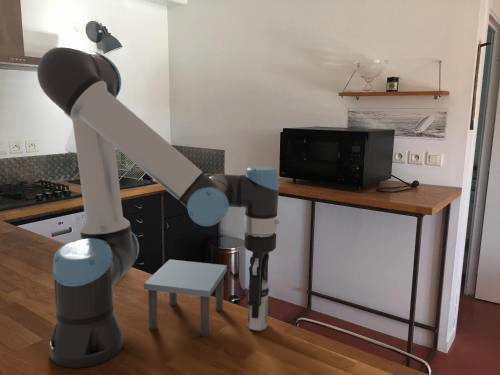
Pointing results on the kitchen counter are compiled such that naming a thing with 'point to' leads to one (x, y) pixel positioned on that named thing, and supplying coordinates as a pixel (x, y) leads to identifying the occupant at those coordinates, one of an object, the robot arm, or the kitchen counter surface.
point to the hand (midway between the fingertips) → (257, 322)
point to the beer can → (264, 306)
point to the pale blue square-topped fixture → (187, 287)
